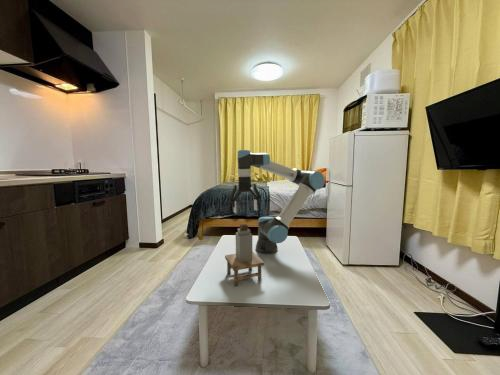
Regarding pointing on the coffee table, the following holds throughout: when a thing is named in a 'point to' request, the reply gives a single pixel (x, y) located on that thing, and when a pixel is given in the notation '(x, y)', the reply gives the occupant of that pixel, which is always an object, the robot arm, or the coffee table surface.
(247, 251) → the perfume bottle
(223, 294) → the coffee table surface
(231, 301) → the coffee table surface
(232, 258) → the stool
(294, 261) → the coffee table surface
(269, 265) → the coffee table surface
